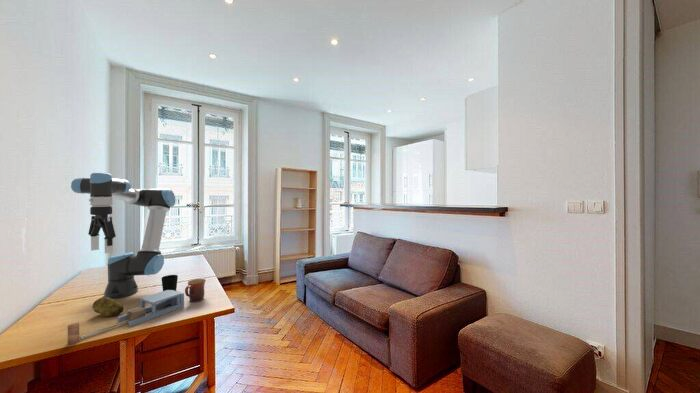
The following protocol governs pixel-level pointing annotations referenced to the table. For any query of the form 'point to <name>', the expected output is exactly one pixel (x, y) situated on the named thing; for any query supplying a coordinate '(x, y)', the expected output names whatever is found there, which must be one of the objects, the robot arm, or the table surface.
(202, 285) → the mug
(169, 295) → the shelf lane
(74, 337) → the wooden mallet
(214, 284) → the table surface
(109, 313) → the dirty green tuber
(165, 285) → the cup
